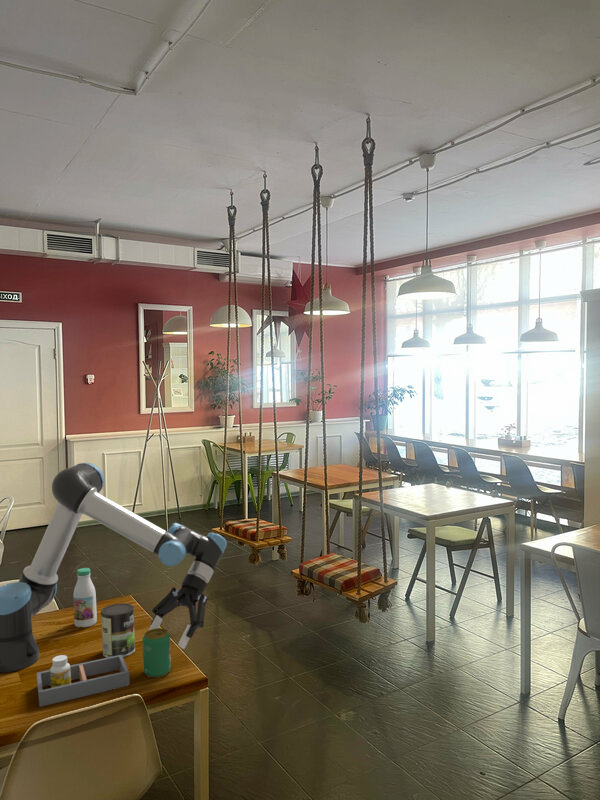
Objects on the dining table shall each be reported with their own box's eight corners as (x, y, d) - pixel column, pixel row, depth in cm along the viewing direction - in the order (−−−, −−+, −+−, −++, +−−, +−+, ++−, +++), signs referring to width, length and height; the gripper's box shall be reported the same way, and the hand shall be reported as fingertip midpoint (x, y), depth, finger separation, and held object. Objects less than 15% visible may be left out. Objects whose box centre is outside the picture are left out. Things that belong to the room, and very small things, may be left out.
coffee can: (140, 645, 203) (139, 603, 202) (126, 659, 193) (124, 616, 192) (112, 643, 205) (110, 602, 205) (96, 657, 195) (94, 614, 194)
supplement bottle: (75, 688, 176) (74, 655, 176) (61, 697, 171) (60, 663, 171) (60, 685, 178) (59, 652, 178) (46, 694, 173) (45, 660, 173)
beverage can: (174, 674, 183) (172, 635, 182) (147, 681, 179) (146, 641, 179) (166, 663, 190) (165, 625, 189) (141, 669, 186) (139, 631, 186)
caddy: (37, 686, 178) (36, 672, 177) (122, 667, 188) (121, 654, 188) (39, 706, 166) (39, 692, 166) (129, 685, 177) (129, 672, 177)
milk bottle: (80, 619, 226) (78, 565, 226) (100, 619, 225) (98, 566, 225) (70, 627, 219) (68, 572, 218) (90, 628, 218) (88, 573, 217)
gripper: (232, 591, 193) (201, 656, 181) (175, 578, 207) (143, 638, 195) (220, 579, 188) (188, 646, 177) (163, 567, 202) (129, 627, 190)
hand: (164, 642), depth 186 cm, fingers open, 13 cm apart
